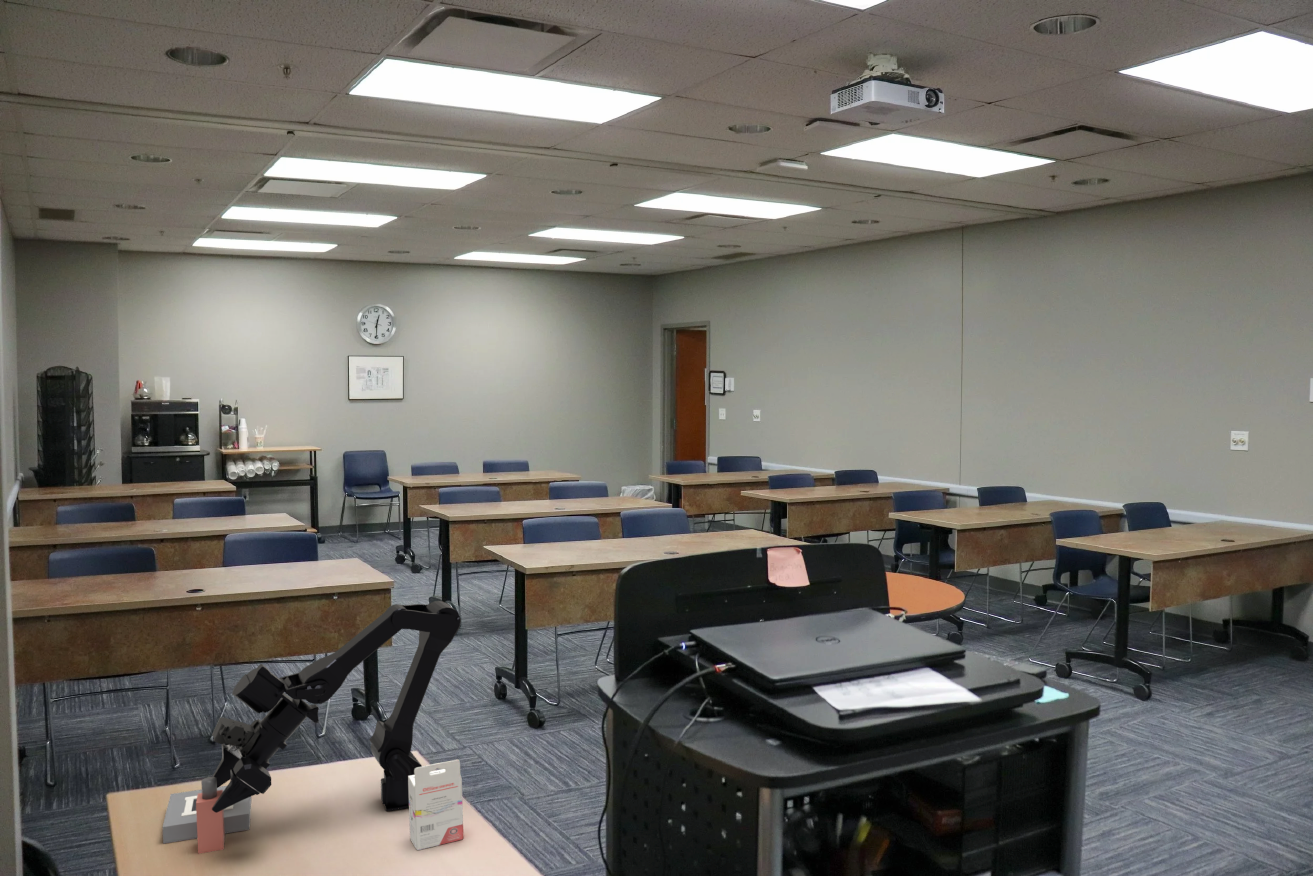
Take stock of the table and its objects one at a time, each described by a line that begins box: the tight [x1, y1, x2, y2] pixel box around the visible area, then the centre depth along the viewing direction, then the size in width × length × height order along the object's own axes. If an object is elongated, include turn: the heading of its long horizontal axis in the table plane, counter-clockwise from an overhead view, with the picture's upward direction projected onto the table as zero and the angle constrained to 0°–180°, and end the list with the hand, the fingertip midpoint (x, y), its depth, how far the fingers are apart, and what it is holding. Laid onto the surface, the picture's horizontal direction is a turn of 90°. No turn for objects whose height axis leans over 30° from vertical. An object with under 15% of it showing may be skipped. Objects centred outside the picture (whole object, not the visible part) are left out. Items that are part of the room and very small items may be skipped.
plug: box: [196, 776, 226, 855], centre depth 169 cm, size 4×4×12 cm
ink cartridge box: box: [408, 759, 464, 851], centre depth 171 cm, size 9×5×15 cm, turn 118°
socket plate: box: [162, 785, 252, 845], centre depth 179 cm, size 14×14×3 cm
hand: (210, 800), depth 169 cm, fingers open, 9 cm apart
